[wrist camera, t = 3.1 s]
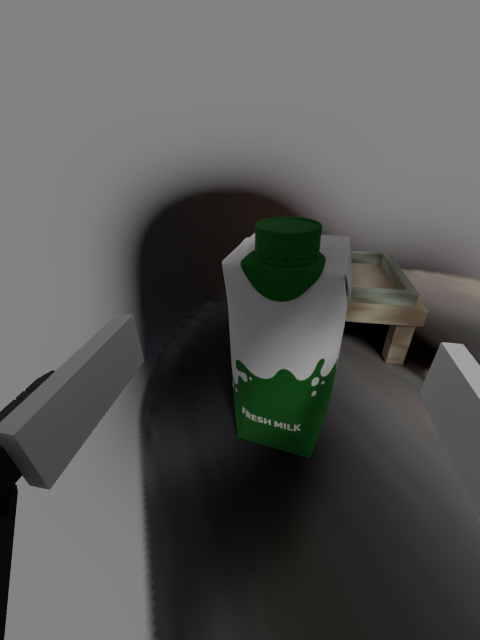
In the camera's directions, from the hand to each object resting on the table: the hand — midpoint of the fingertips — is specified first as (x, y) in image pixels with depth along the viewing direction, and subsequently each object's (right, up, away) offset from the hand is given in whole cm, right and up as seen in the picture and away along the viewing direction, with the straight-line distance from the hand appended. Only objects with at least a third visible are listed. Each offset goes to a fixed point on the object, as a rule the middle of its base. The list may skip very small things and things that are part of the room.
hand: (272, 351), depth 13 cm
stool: (+13, 0, +31) cm, 33 cm away
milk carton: (+3, -9, +17) cm, 19 cm away
